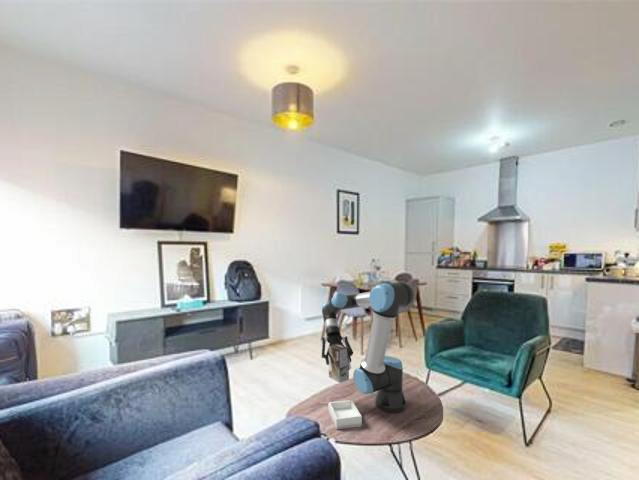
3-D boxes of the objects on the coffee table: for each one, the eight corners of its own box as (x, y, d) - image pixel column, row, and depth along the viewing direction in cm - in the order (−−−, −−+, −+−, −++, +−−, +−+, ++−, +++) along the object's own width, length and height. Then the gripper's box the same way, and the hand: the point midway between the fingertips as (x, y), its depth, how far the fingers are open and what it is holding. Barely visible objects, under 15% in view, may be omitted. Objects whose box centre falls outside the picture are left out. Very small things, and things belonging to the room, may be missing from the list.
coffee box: (349, 379, 159) (349, 347, 159) (339, 383, 155) (339, 350, 155) (337, 373, 166) (337, 343, 166) (328, 377, 162) (327, 345, 163)
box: (351, 408, 156) (351, 399, 156) (361, 426, 141) (361, 416, 141) (328, 411, 153) (328, 402, 153) (336, 429, 139) (336, 419, 139)
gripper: (350, 331, 178) (359, 371, 162) (311, 333, 174) (317, 375, 158) (353, 324, 173) (363, 364, 157) (313, 326, 168) (320, 368, 153)
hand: (340, 369), depth 158 cm, fingers closed on coffee box, 9 cm apart
